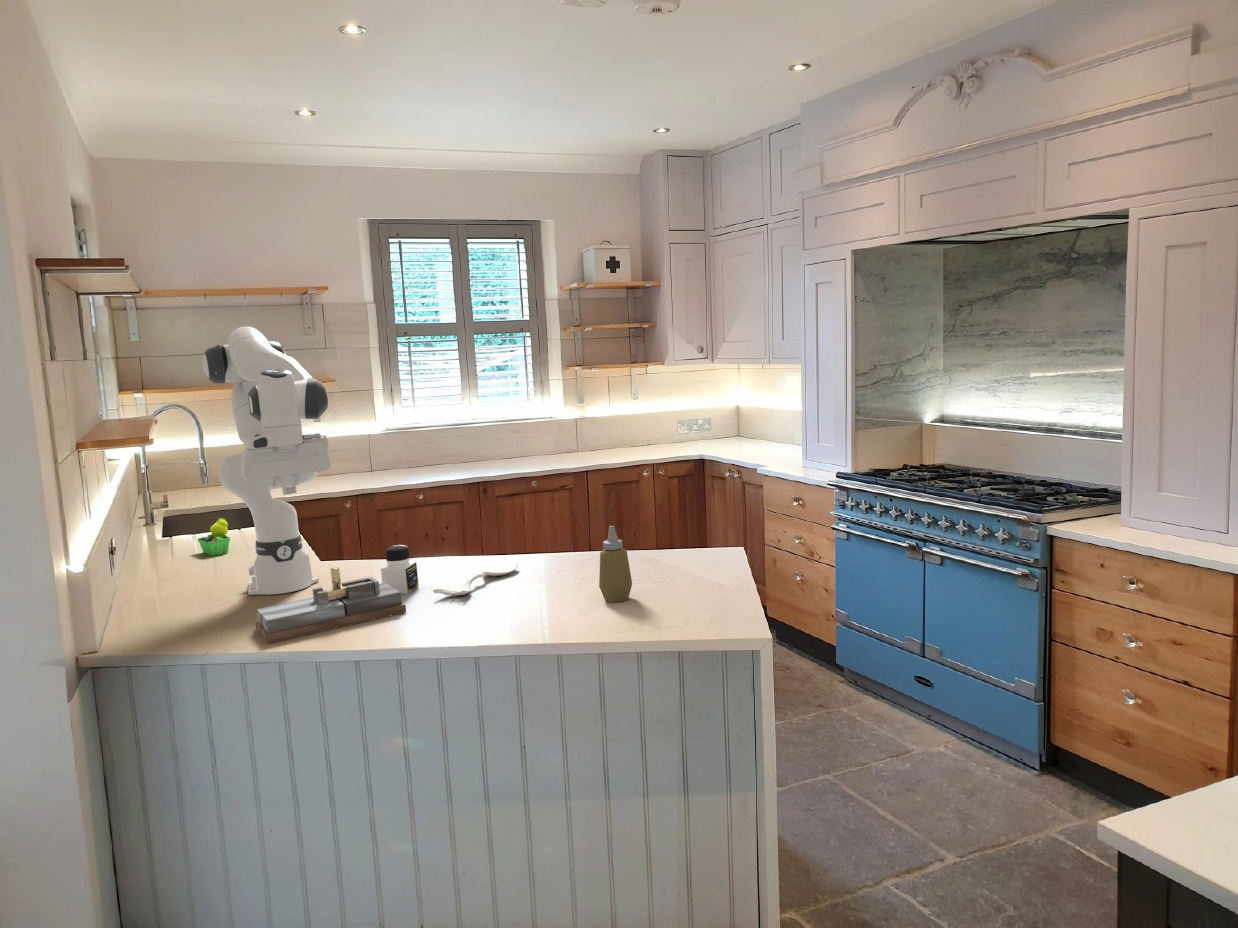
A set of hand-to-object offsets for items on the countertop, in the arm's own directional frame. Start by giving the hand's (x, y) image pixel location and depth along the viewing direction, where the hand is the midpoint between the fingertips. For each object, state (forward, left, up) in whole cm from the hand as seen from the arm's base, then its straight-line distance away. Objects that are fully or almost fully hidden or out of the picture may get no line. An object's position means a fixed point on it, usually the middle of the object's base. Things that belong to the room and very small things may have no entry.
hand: (289, 493), depth 217 cm
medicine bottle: (-4, +26, -31) cm, 41 cm away
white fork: (+6, +45, -31) cm, 55 cm away
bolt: (+10, +8, -25) cm, 28 cm away
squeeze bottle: (+45, +63, -31) cm, 83 cm away
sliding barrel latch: (+10, +4, -31) cm, 32 cm away
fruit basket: (-101, -5, -31) cm, 106 cm away
